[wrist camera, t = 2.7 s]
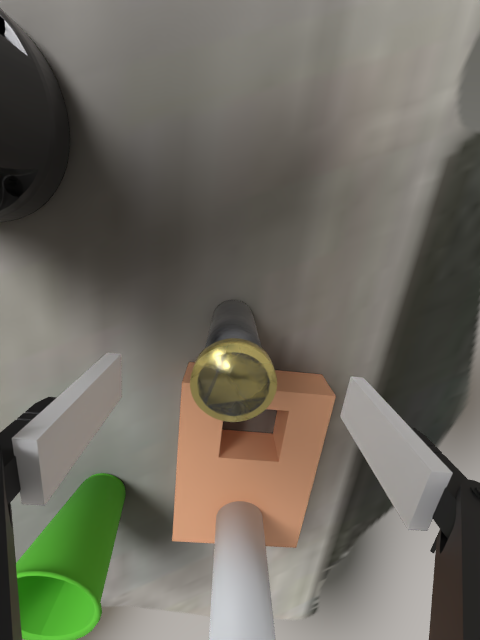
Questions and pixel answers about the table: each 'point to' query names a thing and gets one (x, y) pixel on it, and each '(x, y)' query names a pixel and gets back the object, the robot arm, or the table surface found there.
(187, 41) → the table surface
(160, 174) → the table surface
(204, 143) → the table surface
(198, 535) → the peach square-hole plate
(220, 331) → the pin
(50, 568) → the cup
